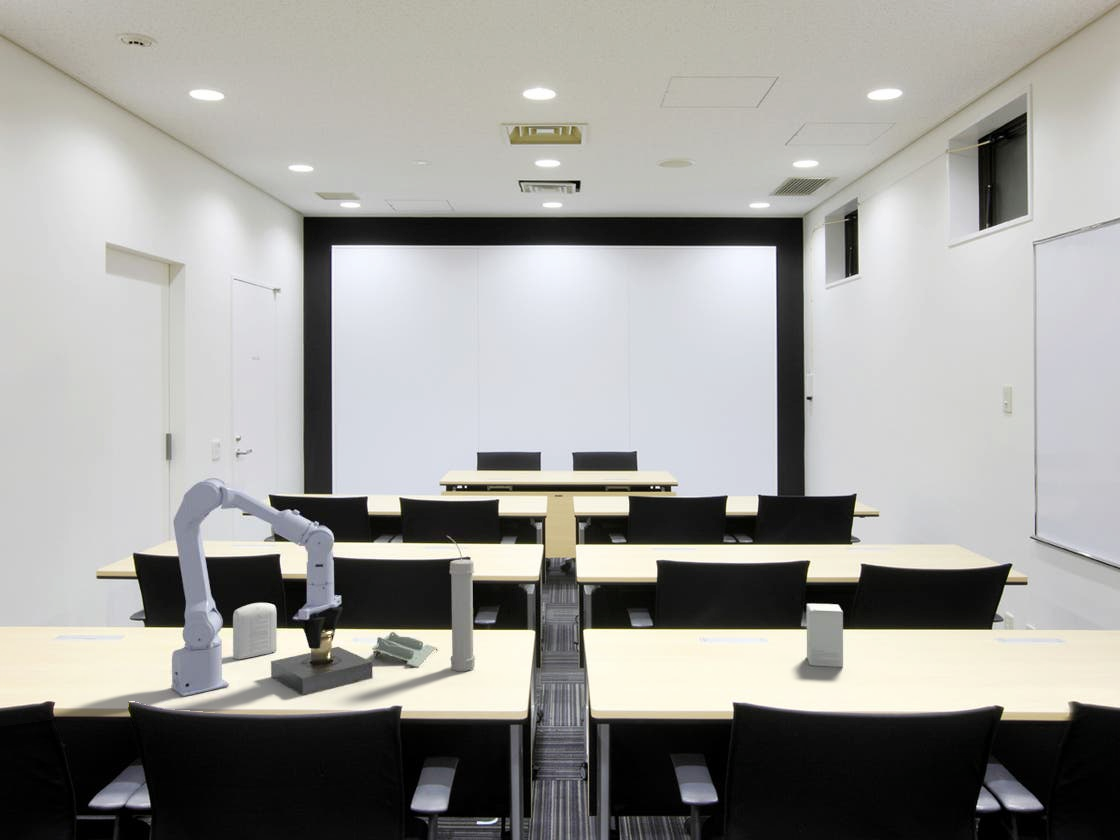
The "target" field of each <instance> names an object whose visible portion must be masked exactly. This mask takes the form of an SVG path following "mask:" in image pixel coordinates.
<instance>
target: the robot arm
mask: <svg viewBox="0 0 1120 840" xmlns="http://www.w3.org/2000/svg"><path fill="white" fill-rule="evenodd" d="M220 506H221V507H220ZM219 507H220V509H222V510H225V509H226V510H228V509H238V510H241V511H242V512H244V513H247V514H249V515H251V516H254V517H256V518H258V519H259V520H262V521H264V522H266V523H268V524H270V525H271V527H272V530H273V532H274V534H275V535H278V536H281V537H282V538H283V539H285V540H288V541H290V542H291V543H292V544H293V543H294V544H295V545H297V546H299V547H304V548H305V550H306V552H307V562H306V603H305V604H304V605H303V607H301V608H300V609H299V610H298V617H297V621H298V623H299V625H300V626H301V627H302V629H303V631H304V635H305V638H306V642H307V644H308V647H309V649H311V648H312V649H318V648H319V646H320V640H321V631H322V628H329V629H333V635H332V642H333V640H334V637H335V632H336V628H337V624H338V622H339V619H340V616H341V614H342V613H343V607H342V606H340V605H341V604H342V595H337V594H335V569H334V568H335V567H334V566H335V565H334V564H335V563H334V562H335V561H334V559H333V558H334V552H333V547H334V542H335V537H334V533H333V532H332V530H331V529H329V528H328V527H327V526H325V525H319V524H320V523H319V521H314V522H313V521H311V520H309V519H307V518H305V517H303V516H302V515H301V514H300V513H301V512H300V511H299V510H297V509H294V510H291V509H284V510H281V511H280V510H278V509H276V508H275V507H273V506H271V505H269V504H267V503H266V502H264V501H263V500H260V499H259V498H257V497H256V496H254V495H252V494H251V493H249V492H248V491H246V490H244V489H242V488H240V487H238V486H236V485H233V484H231V483H229V482H227V483H226V482H224V481H223V480H222V479H220V478H215V477H210V478H207V479H205V480H203V481H200V482H197V483H195V484H194V485H193V486H192V487H191V488H190V489H188V490H187V491H186V492H185V493H184V495H183V498H182V501H181V503H180V505H179V508H178V509H177V511H176V513H175V516H174V518H173V523H172V524H173V529H174V536H175V541H176V547H177V553H178V561H179V568H180V572H181V578H182V585H183V586H182V587H183V593H184V597H185V611H184V621H185V622H184V627H183V630H182V639H183V641H184V647H182V648H179V649H175V650H173V652H172V655H171V674H172V675H171V681H172V682H171V683H172V684H171V686H170V687H171V688H172V689H173V690H174V691H176V692H177V693H178V694H179V695H180V696H182V697H186V696H191V695H196V694H199V693H204V692H207V691H212V690H218V689H222V688H225V687H229V686H230V683H229V682H227V681H226V680H224V679H223V660H222V659H223V656H222V655H223V653H222V652H223V650H222V639H221V637H220V636H219V634H218V633H219V632H220V631H221V630H222V627H223V621H224V620H223V618H222V615H221V613H220V612H219V611H218V609H217V606H216V601H215V600H214V598H213V596H212V593H211V592H212V591H211V587H210V579H209V573H208V568H207V566H208V565H207V561H206V555H205V548H204V542H203V536H202V530H201V524H202V523H203V522H204V520H205V519H206V518H207V517H208V516H209V515H210V513H211V512H212V511H214V510H216V509H217V508H219Z"/></svg>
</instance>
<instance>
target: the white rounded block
mask: <svg viewBox="0 0 1120 840" xmlns="http://www.w3.org/2000/svg"><path fill="white" fill-rule="evenodd" d="M277 624H278V623H277V607H276V605H275V604H272V603H268V602H254V603H250V604H246V605H244V606H241V607H239V608H237V609H235V610H234V612H233V615H232V646H233V647H232V655H233V659H235V660H243V659H248V658H251V657H257V656H261V655H266V654H267V655H268V654H272V652H273V653H276V652H277V650H278V649H277V648H278V647H277V646H278V645H277V637H278V636H277V634H278V633H277V629H278V628H277Z"/></svg>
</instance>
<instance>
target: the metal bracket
mask: <svg viewBox="0 0 1120 840" xmlns="http://www.w3.org/2000/svg"><path fill="white" fill-rule="evenodd" d="M376 639H377V641H376V644H375V645H374V646H373V647H371V650H372V654H374V658H375V659H376V658H378V657H379V656H380V655H381V653H382V654H385V655H388V656H390V657H394V658H397V659H399V660H402V661H405V662H406V665H408V666H410V667H413V668H415V667H419V666H420V665H421V664H422V663H423V662H424V660H426V658H427V657H428V656H429V655H430V654H431V653H432V652H433V651H434V650H435V649H436V648H437V647H435V646H432V645H429V644H425V645H424V642H423V641H421V640H419V639H416V638H413V637H409V636H401V635H398V634H397V633H396V632H394V631H391V632H390V633H389V634H388V635H386V636H385V637H380V636H378V637H377V638H376ZM432 654H433V653H432ZM378 655H379V656H378ZM377 656H378V657H377ZM426 661H427V660H426ZM424 663H425V662H424Z"/></svg>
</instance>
